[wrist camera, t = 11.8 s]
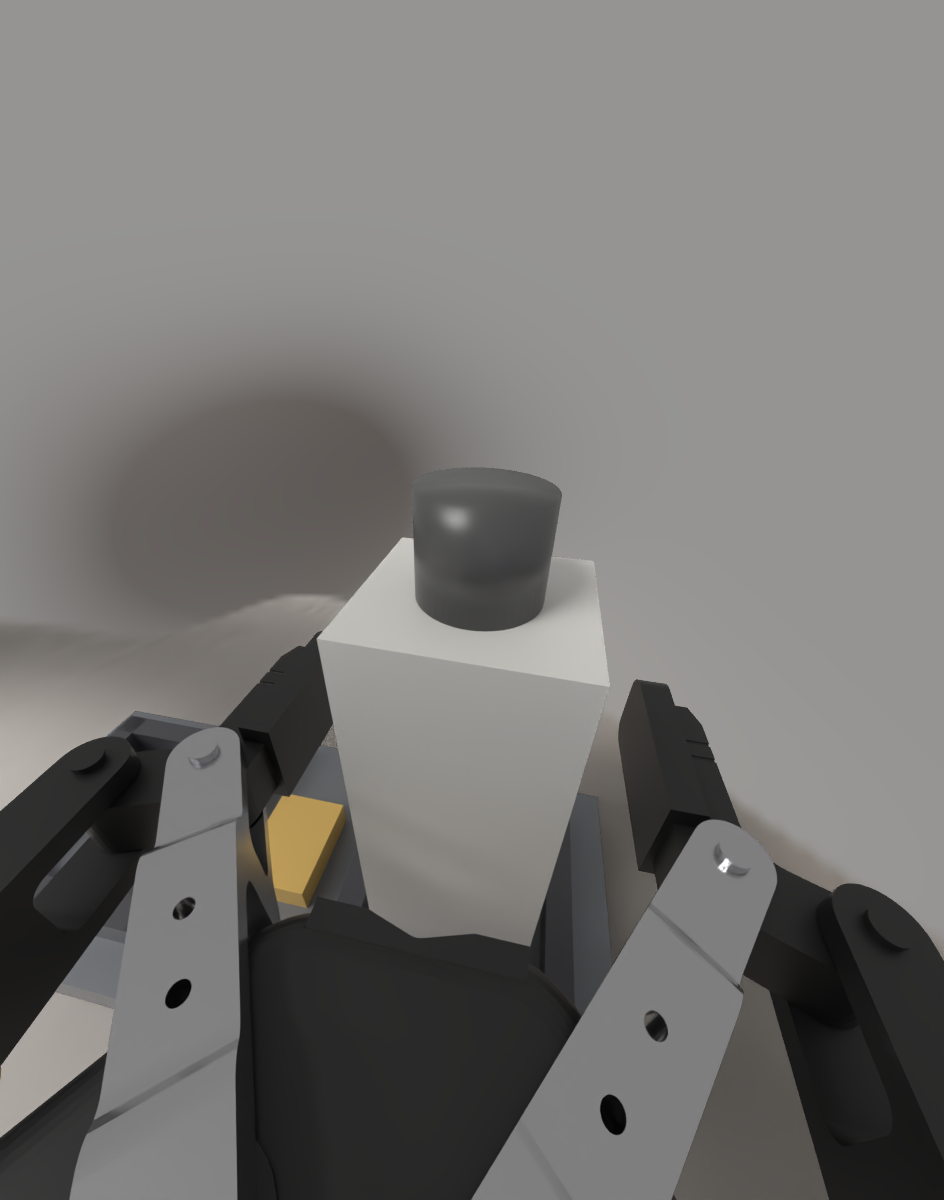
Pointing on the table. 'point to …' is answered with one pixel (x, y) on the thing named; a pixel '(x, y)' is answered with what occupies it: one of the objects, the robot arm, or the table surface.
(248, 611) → the table surface
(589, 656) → the plug
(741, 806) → the table surface
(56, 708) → the table surface
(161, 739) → the power strip
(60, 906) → the robot arm
